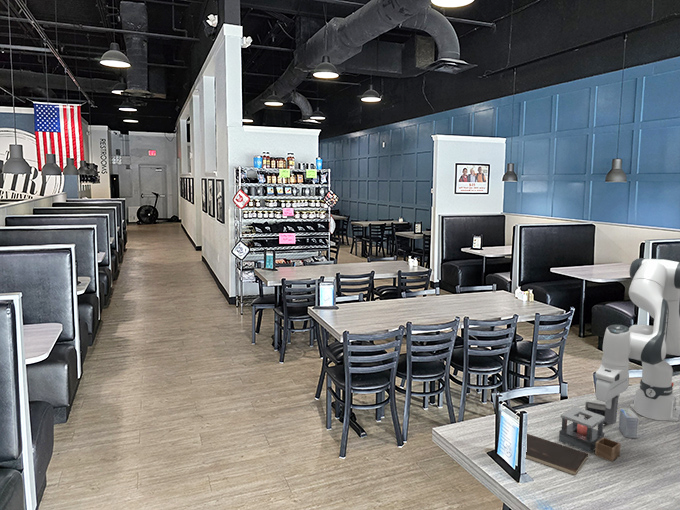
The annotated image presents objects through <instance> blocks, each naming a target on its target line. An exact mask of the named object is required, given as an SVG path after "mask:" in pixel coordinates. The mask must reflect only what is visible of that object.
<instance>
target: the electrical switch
mask: <svg viewBox="0 0 680 510" xmlns="http://www.w3.org/2000/svg"><path fill="white" fill-rule="evenodd" d="M584 406H585V407H584V410H587V411H590V412H593V413H596V414H599V415H602V416H605V406H606V403H605V402H598V401H593V400H586V401H585V405H584ZM583 417H584V419H585V418H586V419H585V420H588V419H589V417H586V416H583ZM603 424H605V425H604V426H608V423H606V422H604V423H603Z"/></svg>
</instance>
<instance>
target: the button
mask: <svg viewBox="0 0 680 510" xmlns="http://www.w3.org/2000/svg"><path fill="white" fill-rule="evenodd" d="M577 433H578V434H581V435H584V436H587V427H586V426H583V425H580V424H577Z"/></svg>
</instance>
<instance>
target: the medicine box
mask: <svg viewBox="0 0 680 510" xmlns="http://www.w3.org/2000/svg"><path fill="white" fill-rule="evenodd" d="M638 428H639V417H638V416H637V415H636V414H635V411H633V410H632V409H625V408H621V409H619V421H618V430H620V431H621V433H622V435H623V436H624V437H625V438H628V439H629V438H631V439H637V438H638V430H639V429H638Z"/></svg>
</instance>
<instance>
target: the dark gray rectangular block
mask: <svg viewBox="0 0 680 510" xmlns="http://www.w3.org/2000/svg"><path fill="white" fill-rule="evenodd" d="M611 402H612V408H611V409H608V408H606V406H605V418H604V422H606V423H607V424H608V425H611V426H612V425H615V424H616V423H617V420H618V419H617V417H618V407H619V406H618V405H619V399H618V396H615V397H614V398H612V400H611Z"/></svg>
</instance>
